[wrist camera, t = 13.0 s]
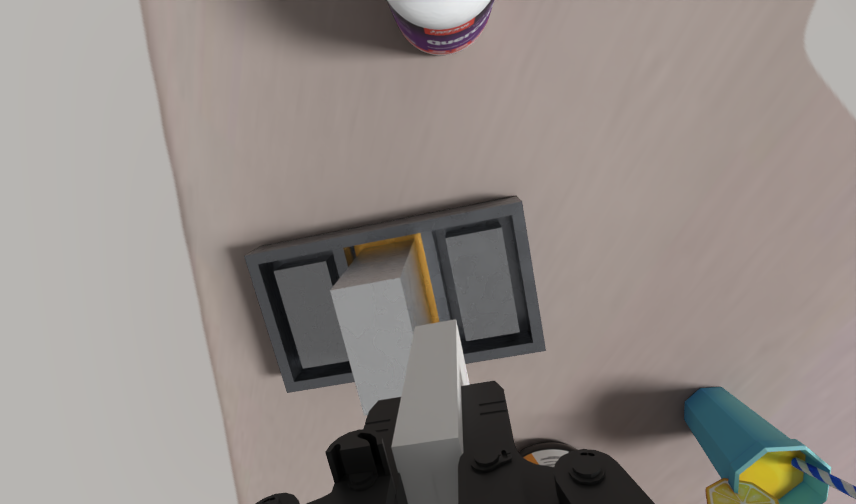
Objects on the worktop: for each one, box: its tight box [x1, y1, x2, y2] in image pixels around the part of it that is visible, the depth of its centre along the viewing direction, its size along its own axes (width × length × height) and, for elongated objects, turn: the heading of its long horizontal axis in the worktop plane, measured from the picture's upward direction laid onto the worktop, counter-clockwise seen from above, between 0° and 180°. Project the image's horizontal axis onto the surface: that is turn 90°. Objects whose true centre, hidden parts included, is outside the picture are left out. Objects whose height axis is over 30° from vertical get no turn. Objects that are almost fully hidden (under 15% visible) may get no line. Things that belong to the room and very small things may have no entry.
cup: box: [684, 387, 856, 504], centre depth 39 cm, size 14×8×15 cm, turn 118°
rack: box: [244, 196, 546, 393], centre depth 43 cm, size 14×25×4 cm, turn 102°
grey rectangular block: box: [330, 239, 433, 415], centre depth 39 cm, size 10×5×12 cm, turn 12°
